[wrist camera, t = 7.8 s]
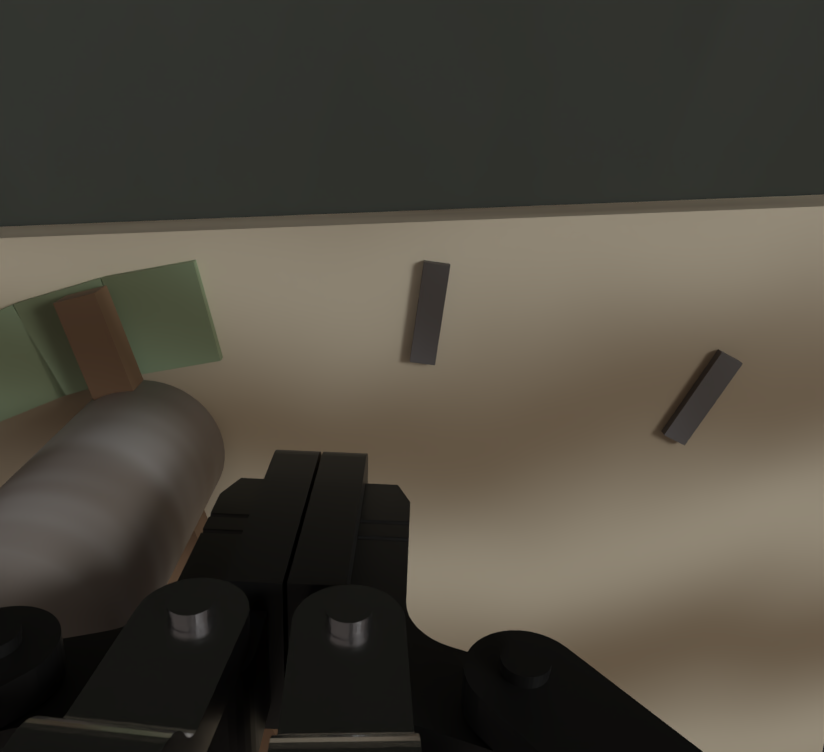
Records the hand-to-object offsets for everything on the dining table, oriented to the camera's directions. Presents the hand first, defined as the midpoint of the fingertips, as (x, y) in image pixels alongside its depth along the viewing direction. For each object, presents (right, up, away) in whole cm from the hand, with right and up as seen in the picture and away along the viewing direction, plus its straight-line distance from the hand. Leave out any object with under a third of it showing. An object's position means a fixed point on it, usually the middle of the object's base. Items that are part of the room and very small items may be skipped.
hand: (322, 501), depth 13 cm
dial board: (-1, -4, +7) cm, 8 cm away
